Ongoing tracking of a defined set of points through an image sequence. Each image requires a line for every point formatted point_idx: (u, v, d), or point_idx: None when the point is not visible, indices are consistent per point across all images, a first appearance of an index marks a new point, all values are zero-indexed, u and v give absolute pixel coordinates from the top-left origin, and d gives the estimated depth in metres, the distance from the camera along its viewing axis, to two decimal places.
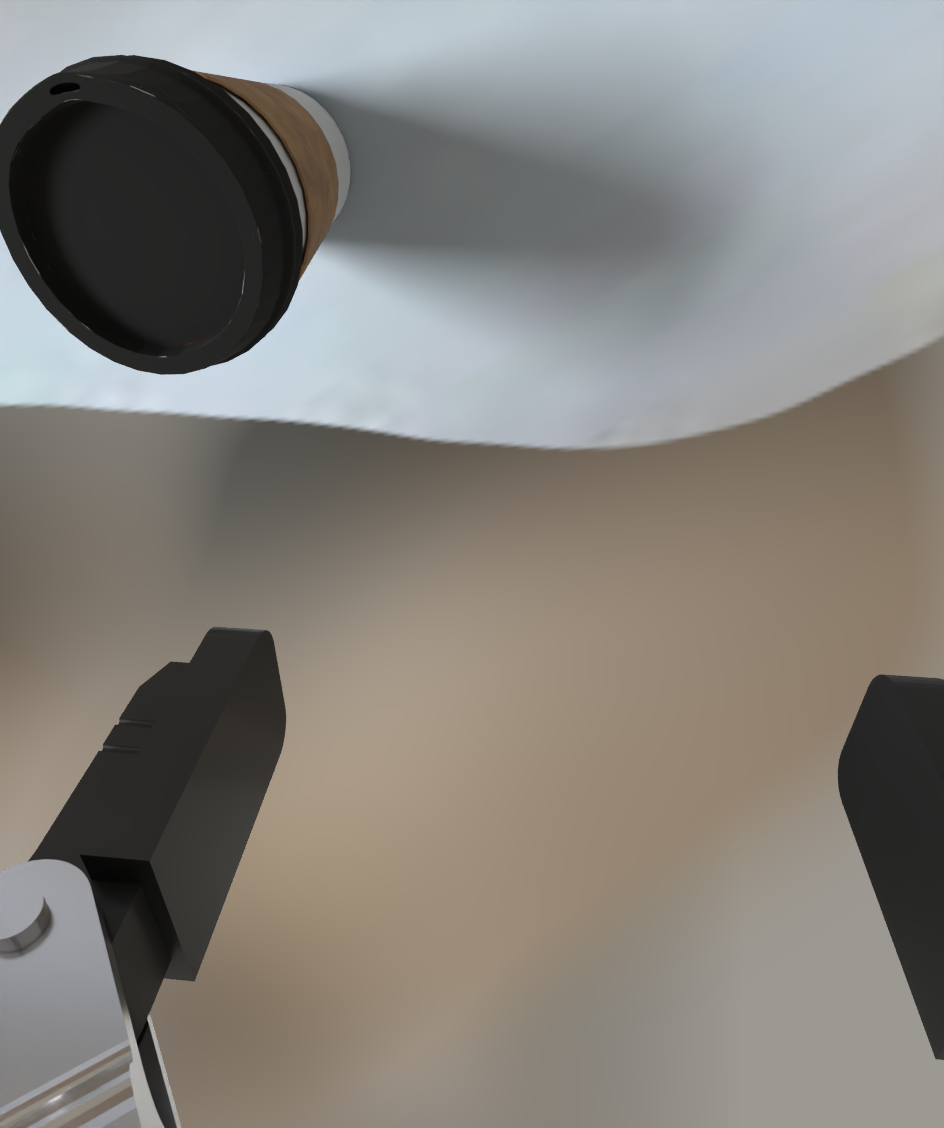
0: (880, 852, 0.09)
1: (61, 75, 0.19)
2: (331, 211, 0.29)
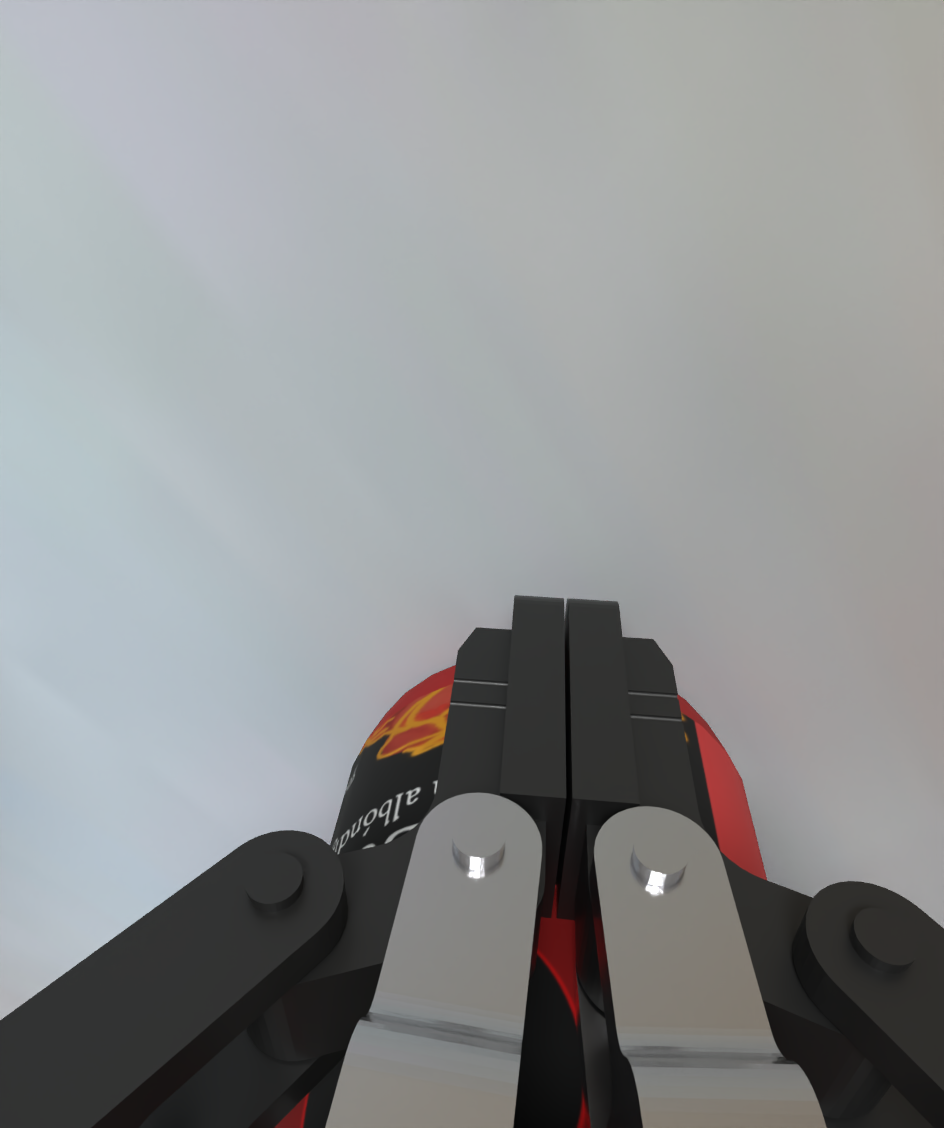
0: None
1: None
2: None
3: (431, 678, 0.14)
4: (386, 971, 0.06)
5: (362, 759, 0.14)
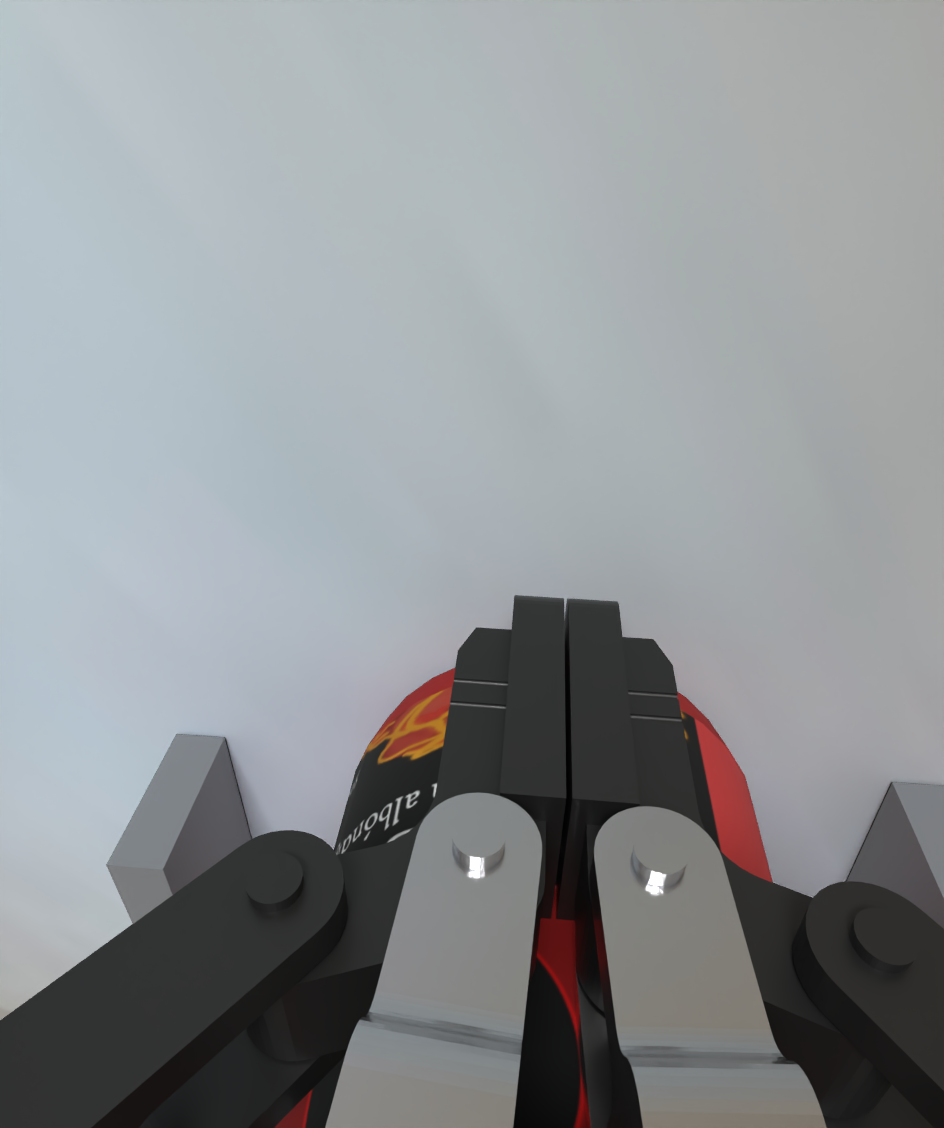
0: None
1: None
2: None
3: (431, 681, 0.14)
4: (386, 970, 0.06)
5: (364, 764, 0.14)
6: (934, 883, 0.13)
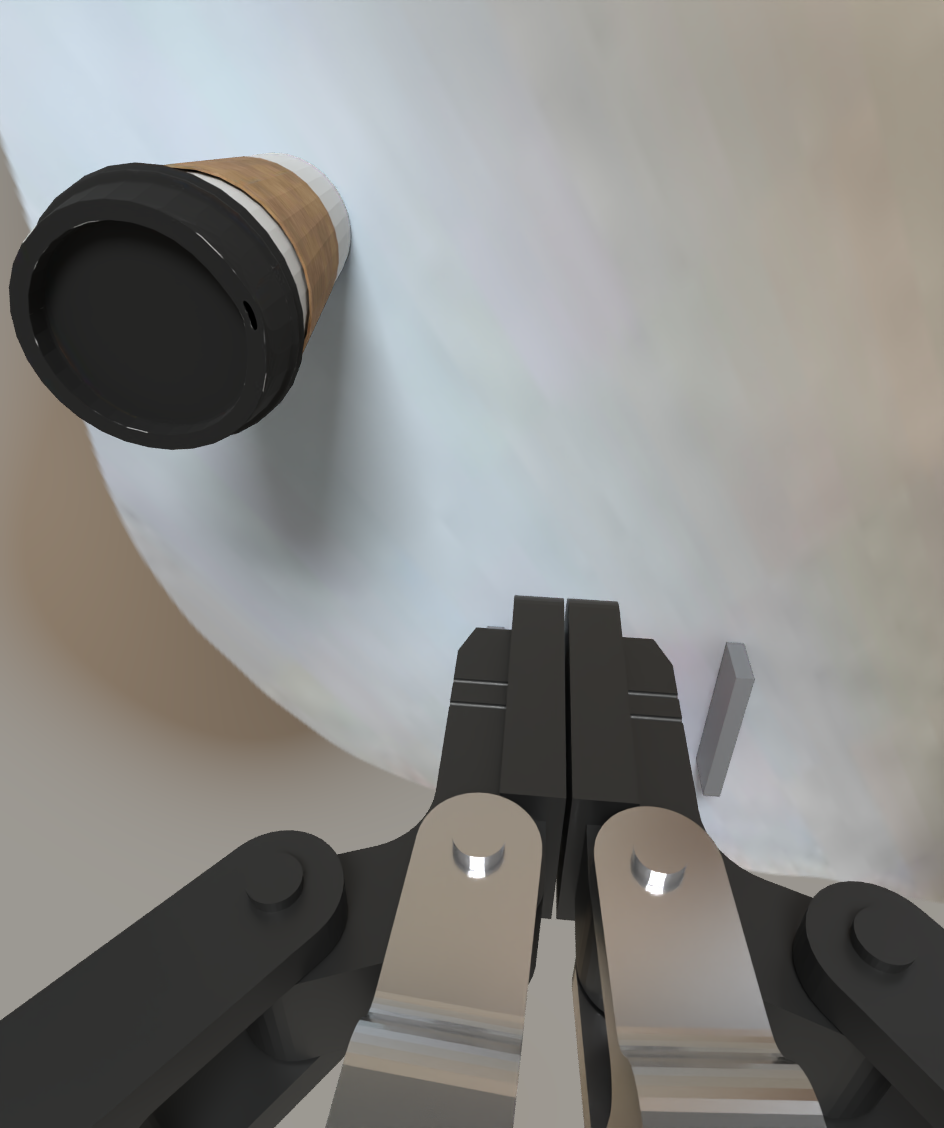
0: None
1: (260, 315, 0.21)
2: None
3: None
4: (385, 972, 0.06)
5: None
6: (733, 667, 0.44)
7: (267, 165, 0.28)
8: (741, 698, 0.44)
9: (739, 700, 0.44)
